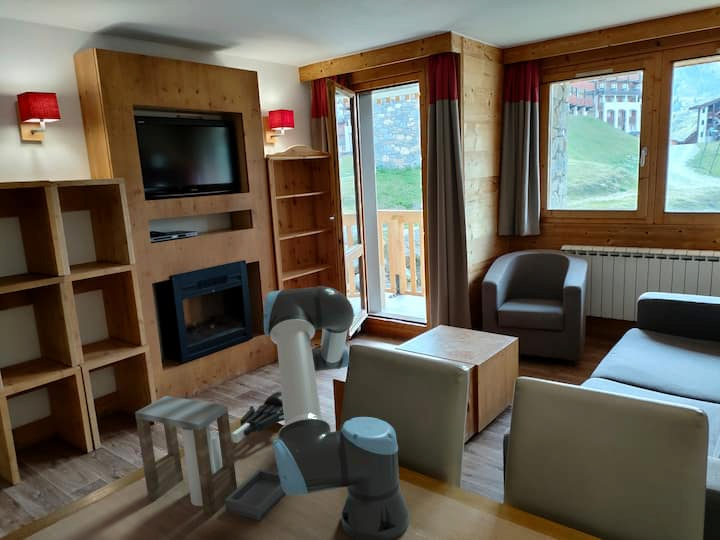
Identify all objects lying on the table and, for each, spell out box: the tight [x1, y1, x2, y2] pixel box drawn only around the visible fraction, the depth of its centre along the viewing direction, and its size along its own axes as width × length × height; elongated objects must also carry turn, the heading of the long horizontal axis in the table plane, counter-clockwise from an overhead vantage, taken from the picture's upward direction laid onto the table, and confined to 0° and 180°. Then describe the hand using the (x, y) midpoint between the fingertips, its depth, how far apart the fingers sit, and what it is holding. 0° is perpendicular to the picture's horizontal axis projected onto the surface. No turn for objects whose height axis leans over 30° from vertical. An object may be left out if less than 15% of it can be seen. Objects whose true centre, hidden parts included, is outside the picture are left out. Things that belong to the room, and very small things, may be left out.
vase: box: [180, 424, 223, 507], centre depth 132 cm, size 11×7×20 cm, turn 176°
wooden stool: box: [134, 395, 238, 518], centre depth 130 cm, size 20×10×24 cm, turn 65°
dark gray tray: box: [224, 468, 286, 521], centre depth 129 cm, size 10×14×3 cm
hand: (234, 438), depth 148 cm, fingers closed
